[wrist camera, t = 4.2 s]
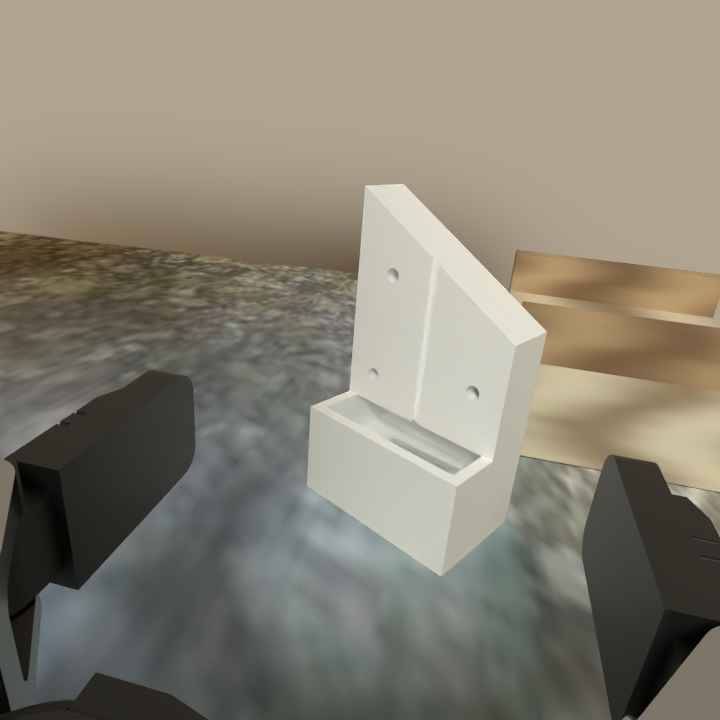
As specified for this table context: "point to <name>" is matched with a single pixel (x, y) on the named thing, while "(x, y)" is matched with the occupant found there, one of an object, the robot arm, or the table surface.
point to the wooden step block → (624, 365)
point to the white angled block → (426, 389)
